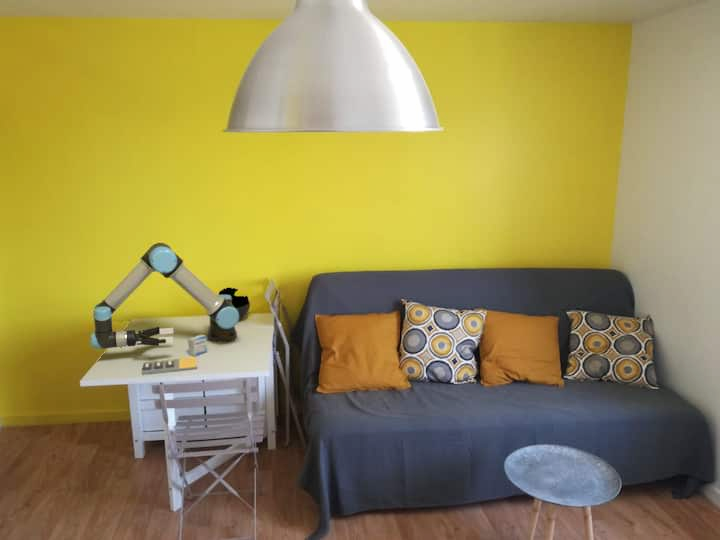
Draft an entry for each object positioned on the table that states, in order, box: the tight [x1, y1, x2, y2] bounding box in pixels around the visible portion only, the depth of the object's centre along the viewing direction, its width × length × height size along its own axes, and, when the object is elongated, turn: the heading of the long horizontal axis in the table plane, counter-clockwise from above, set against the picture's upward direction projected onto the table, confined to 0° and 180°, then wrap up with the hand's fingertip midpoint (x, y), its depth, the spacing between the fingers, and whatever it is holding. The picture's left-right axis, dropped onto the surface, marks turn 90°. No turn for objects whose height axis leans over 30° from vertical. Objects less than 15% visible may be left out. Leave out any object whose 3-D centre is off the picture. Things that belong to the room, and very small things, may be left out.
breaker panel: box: [141, 356, 198, 376], centre depth 285 cm, size 24×13×3 cm, turn 106°
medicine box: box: [187, 333, 208, 357], centre depth 301 cm, size 8×4×9 cm, turn 146°
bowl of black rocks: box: [218, 286, 251, 321], centre depth 350 cm, size 20×20×19 cm
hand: (173, 334), depth 297 cm, fingers open, 13 cm apart
